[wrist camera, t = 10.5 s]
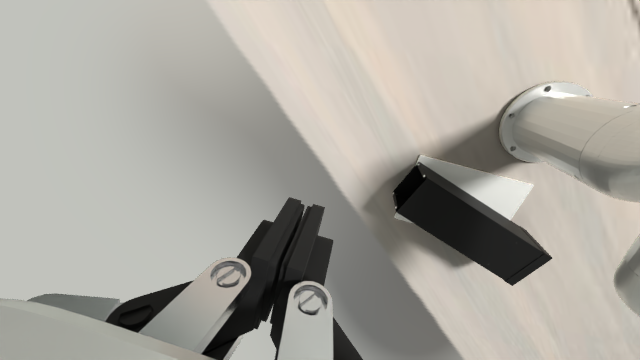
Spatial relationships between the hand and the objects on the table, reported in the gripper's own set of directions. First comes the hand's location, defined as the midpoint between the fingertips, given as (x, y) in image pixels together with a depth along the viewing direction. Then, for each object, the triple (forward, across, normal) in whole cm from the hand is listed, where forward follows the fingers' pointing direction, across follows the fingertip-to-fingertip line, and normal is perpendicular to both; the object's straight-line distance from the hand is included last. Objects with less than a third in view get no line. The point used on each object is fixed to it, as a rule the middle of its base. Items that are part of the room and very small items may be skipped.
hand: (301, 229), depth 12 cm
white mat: (+37, -24, +12) cm, 46 cm away
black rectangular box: (+33, -13, +10) cm, 36 cm away
